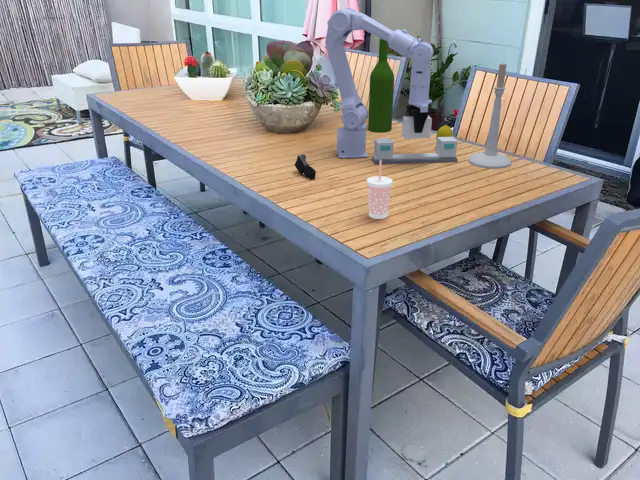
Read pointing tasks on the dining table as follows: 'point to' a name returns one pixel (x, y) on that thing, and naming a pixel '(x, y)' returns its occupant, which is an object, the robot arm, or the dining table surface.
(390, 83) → the wine bottle
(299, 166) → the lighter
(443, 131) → the lemon
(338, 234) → the dining table surface
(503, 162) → the candlestick
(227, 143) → the dining table surface
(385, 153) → the board
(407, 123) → the block
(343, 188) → the dining table surface
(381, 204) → the beverage cup
